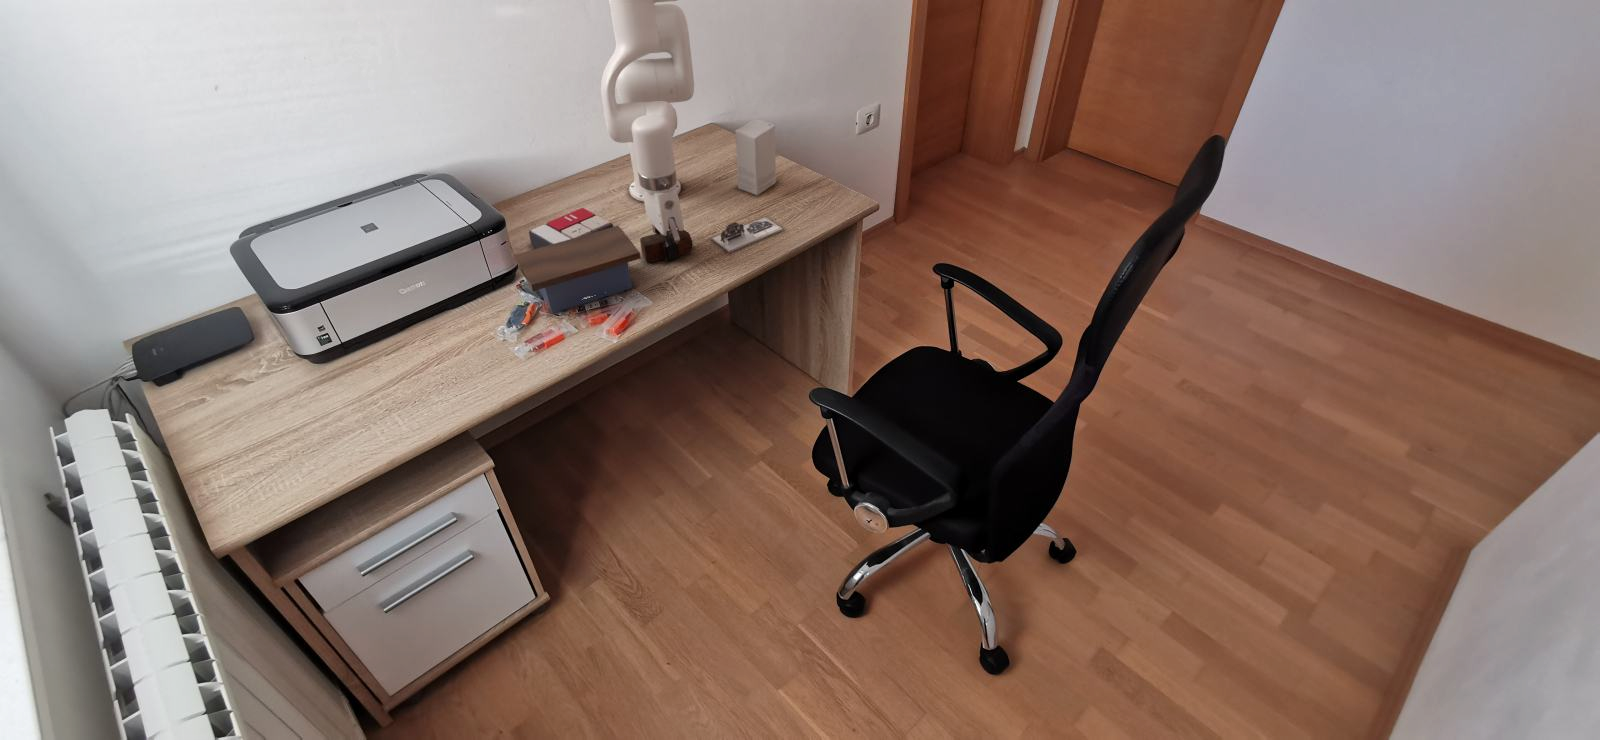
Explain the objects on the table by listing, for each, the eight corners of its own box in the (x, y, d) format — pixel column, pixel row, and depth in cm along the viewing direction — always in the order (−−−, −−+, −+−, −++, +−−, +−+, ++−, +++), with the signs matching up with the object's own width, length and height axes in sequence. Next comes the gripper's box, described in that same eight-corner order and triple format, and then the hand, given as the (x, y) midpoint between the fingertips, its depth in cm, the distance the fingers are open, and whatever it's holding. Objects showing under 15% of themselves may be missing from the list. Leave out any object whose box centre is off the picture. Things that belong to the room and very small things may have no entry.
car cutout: (729, 252, 165) (728, 234, 162) (712, 239, 169) (711, 222, 166) (782, 230, 172) (782, 213, 169) (765, 218, 176) (764, 201, 173)
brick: (647, 264, 162) (644, 246, 158) (641, 255, 164) (639, 237, 161) (693, 253, 165) (691, 234, 162) (687, 244, 168) (685, 226, 165)
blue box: (537, 288, 155) (529, 260, 150) (615, 264, 161) (609, 237, 157) (552, 313, 149) (544, 284, 144) (632, 288, 155) (627, 259, 150)
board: (515, 261, 150) (513, 254, 149) (619, 231, 158) (618, 225, 157) (533, 291, 142) (531, 285, 141) (641, 258, 151) (639, 252, 150)
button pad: (613, 221, 168) (557, 245, 159) (615, 238, 171) (561, 263, 161) (582, 205, 173) (527, 228, 164) (585, 221, 176) (530, 245, 167)
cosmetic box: (757, 176, 192) (755, 117, 181) (778, 183, 189) (777, 124, 179) (736, 189, 187) (733, 129, 176) (757, 196, 184) (755, 136, 174)
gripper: (691, 190, 149) (699, 267, 161) (658, 157, 159) (667, 231, 171) (656, 200, 146) (667, 277, 158) (625, 165, 156) (637, 240, 168)
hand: (667, 253), depth 164 cm, fingers closed on brick, 4 cm apart
